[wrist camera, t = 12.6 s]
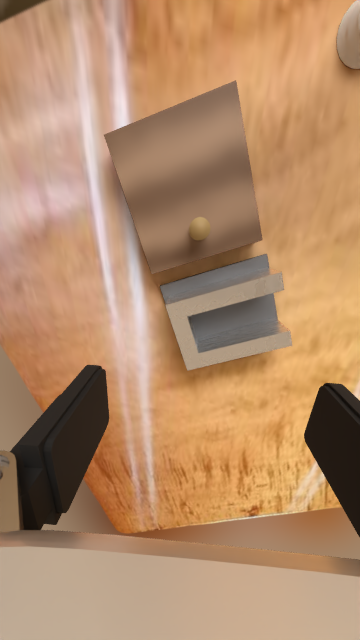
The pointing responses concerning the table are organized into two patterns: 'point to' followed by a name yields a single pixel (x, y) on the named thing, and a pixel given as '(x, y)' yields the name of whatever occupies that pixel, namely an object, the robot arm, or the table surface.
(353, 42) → the chalice
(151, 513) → the table surface
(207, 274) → the mat
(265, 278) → the c link
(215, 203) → the stand
